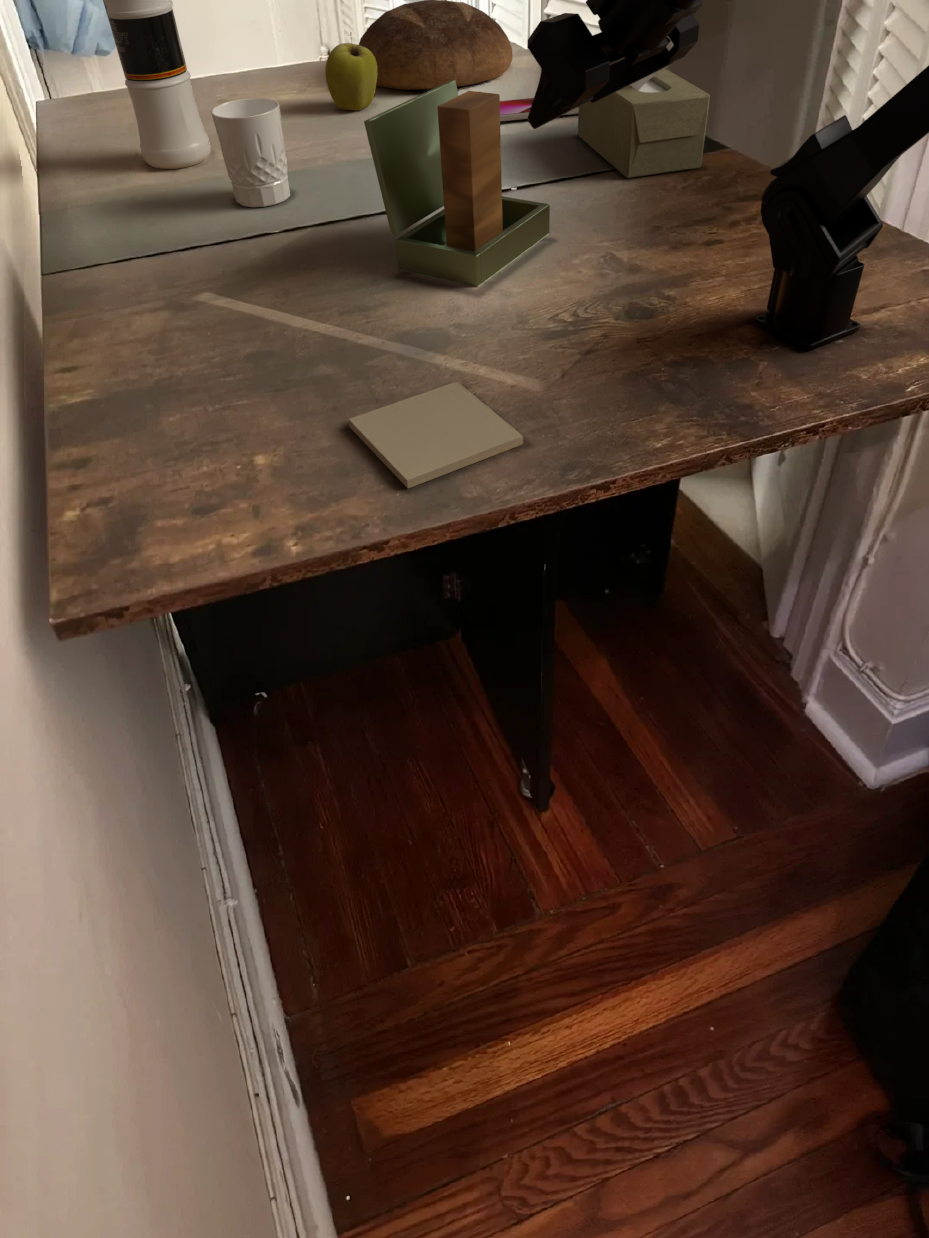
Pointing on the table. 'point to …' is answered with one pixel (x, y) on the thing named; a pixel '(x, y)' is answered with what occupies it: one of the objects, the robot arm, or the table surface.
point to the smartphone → (520, 109)
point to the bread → (436, 45)
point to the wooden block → (471, 168)
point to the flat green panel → (409, 157)
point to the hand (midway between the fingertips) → (561, 111)
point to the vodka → (158, 83)
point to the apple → (351, 76)
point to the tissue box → (648, 125)
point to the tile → (434, 433)
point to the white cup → (253, 150)
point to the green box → (433, 258)
